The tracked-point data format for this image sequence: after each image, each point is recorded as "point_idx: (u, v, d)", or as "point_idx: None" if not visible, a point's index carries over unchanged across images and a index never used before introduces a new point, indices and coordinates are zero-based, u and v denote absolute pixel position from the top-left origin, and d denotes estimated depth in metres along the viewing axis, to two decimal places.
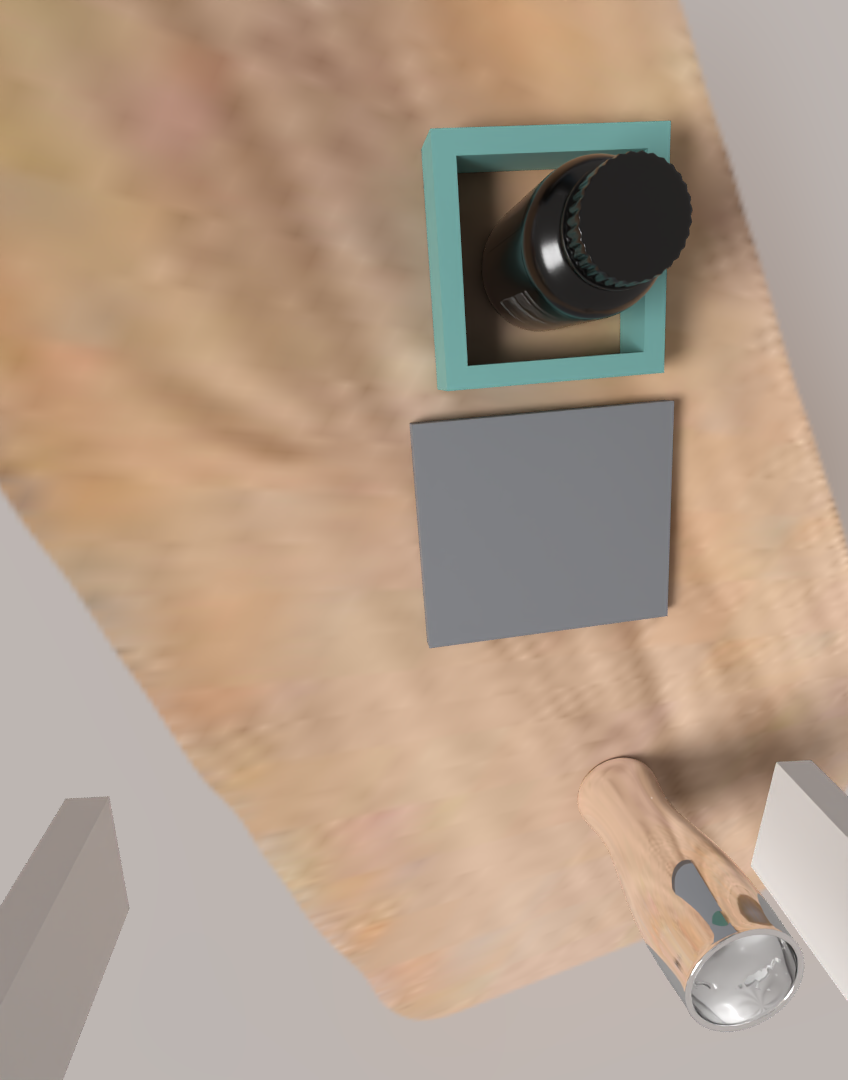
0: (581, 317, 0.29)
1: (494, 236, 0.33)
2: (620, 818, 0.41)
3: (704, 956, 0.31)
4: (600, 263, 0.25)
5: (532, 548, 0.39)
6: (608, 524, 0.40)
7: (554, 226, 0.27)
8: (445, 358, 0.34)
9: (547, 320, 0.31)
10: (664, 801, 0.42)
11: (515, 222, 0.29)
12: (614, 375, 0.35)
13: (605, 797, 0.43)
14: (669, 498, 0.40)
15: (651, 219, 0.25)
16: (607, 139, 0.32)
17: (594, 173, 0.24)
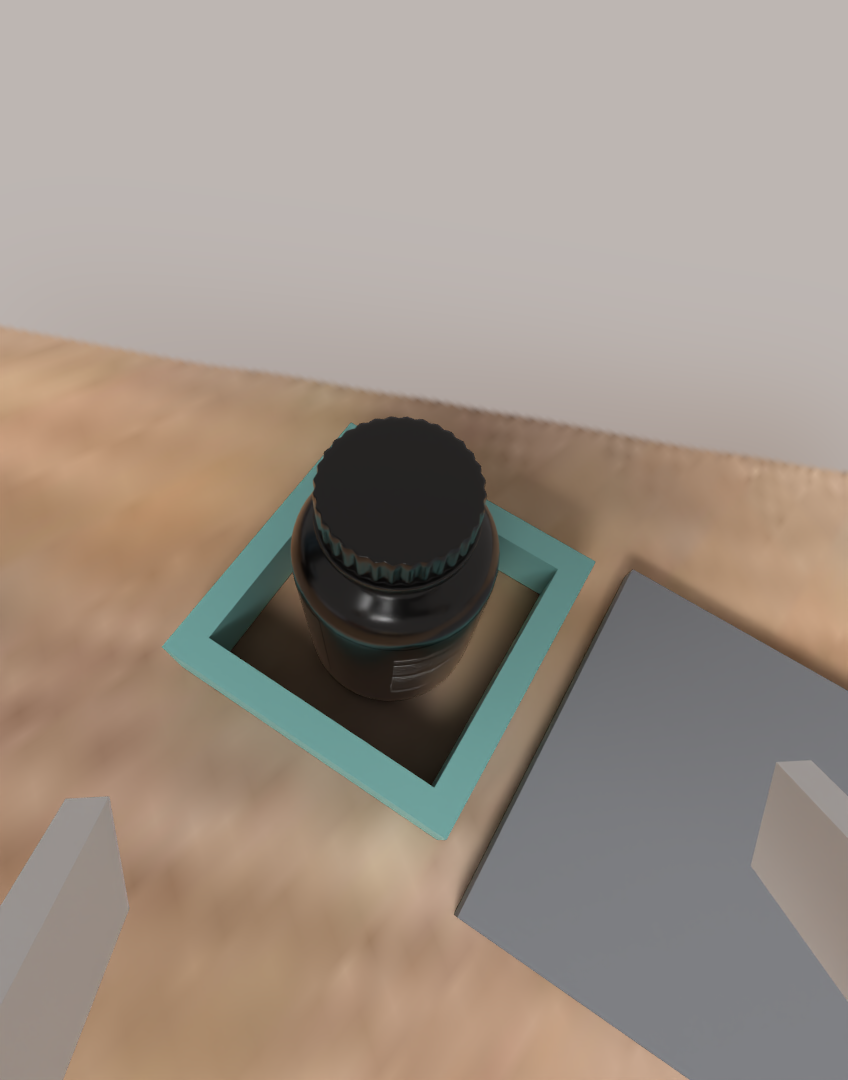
0: (472, 616, 0.19)
1: (318, 651, 0.25)
2: None
3: None
4: (420, 555, 0.16)
5: (735, 865, 0.24)
6: (752, 736, 0.26)
7: (343, 583, 0.18)
8: (405, 810, 0.22)
9: (448, 655, 0.22)
10: None
11: (312, 622, 0.21)
12: (564, 616, 0.25)
13: None
14: (754, 640, 0.28)
15: (415, 471, 0.17)
16: None
17: (315, 502, 0.17)
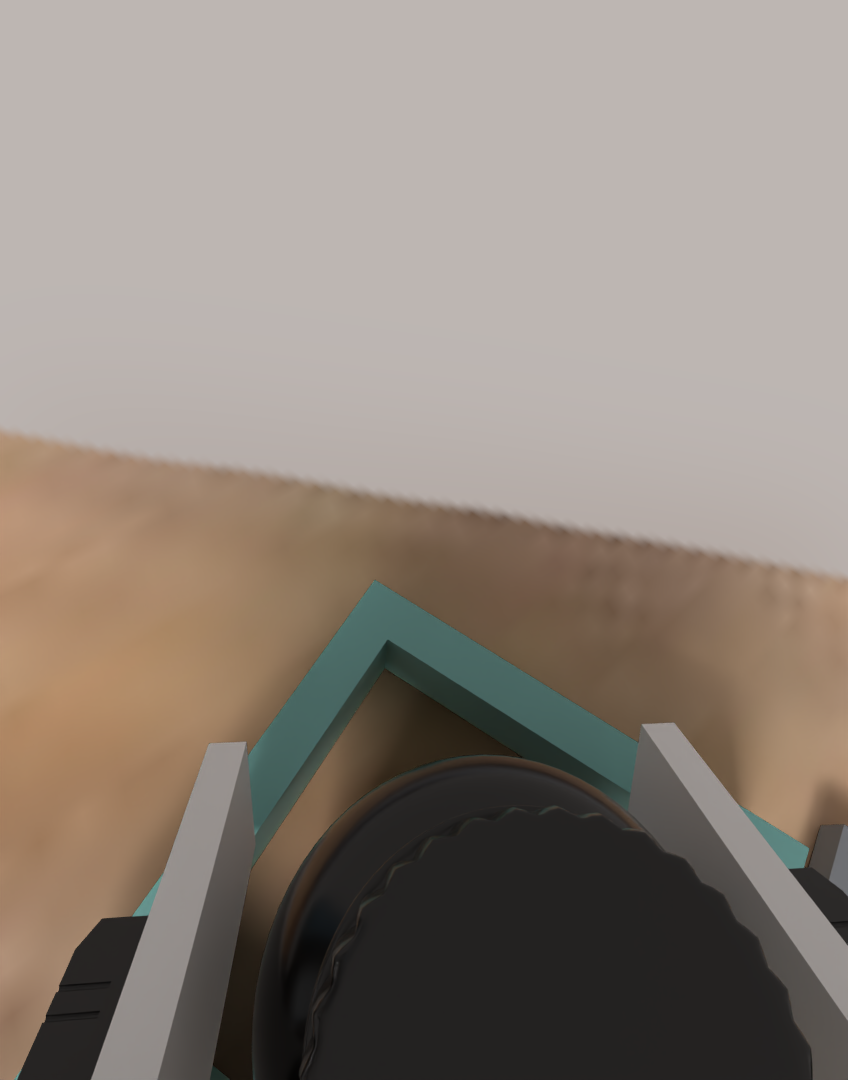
0: None
1: None
2: None
3: None
4: None
5: None
6: None
7: None
8: None
9: None
10: None
11: None
12: None
13: None
14: None
15: (605, 1028, 0.06)
16: (323, 700, 0.16)
17: None
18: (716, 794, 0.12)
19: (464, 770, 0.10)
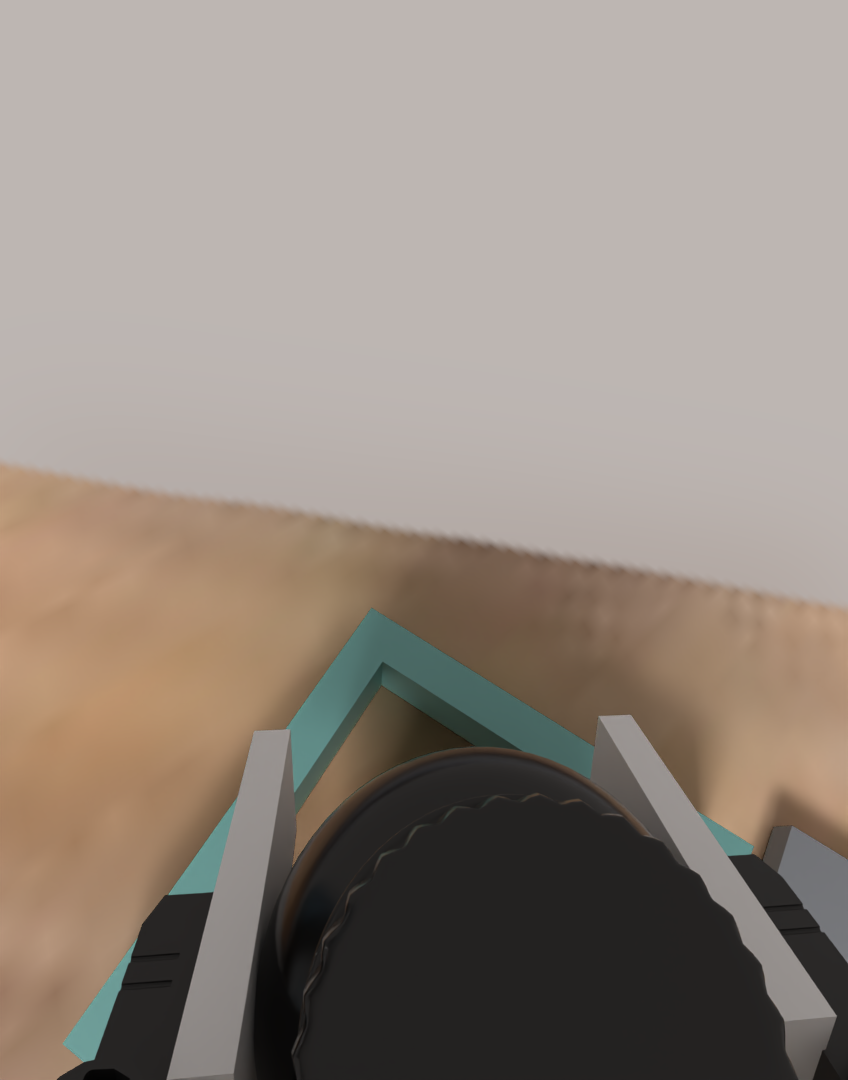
0: None
1: None
2: None
3: None
4: None
5: None
6: None
7: None
8: None
9: None
10: None
11: None
12: None
13: None
14: None
15: (584, 1004, 0.06)
16: (326, 716, 0.18)
17: None
18: (664, 783, 0.12)
19: (455, 763, 0.10)
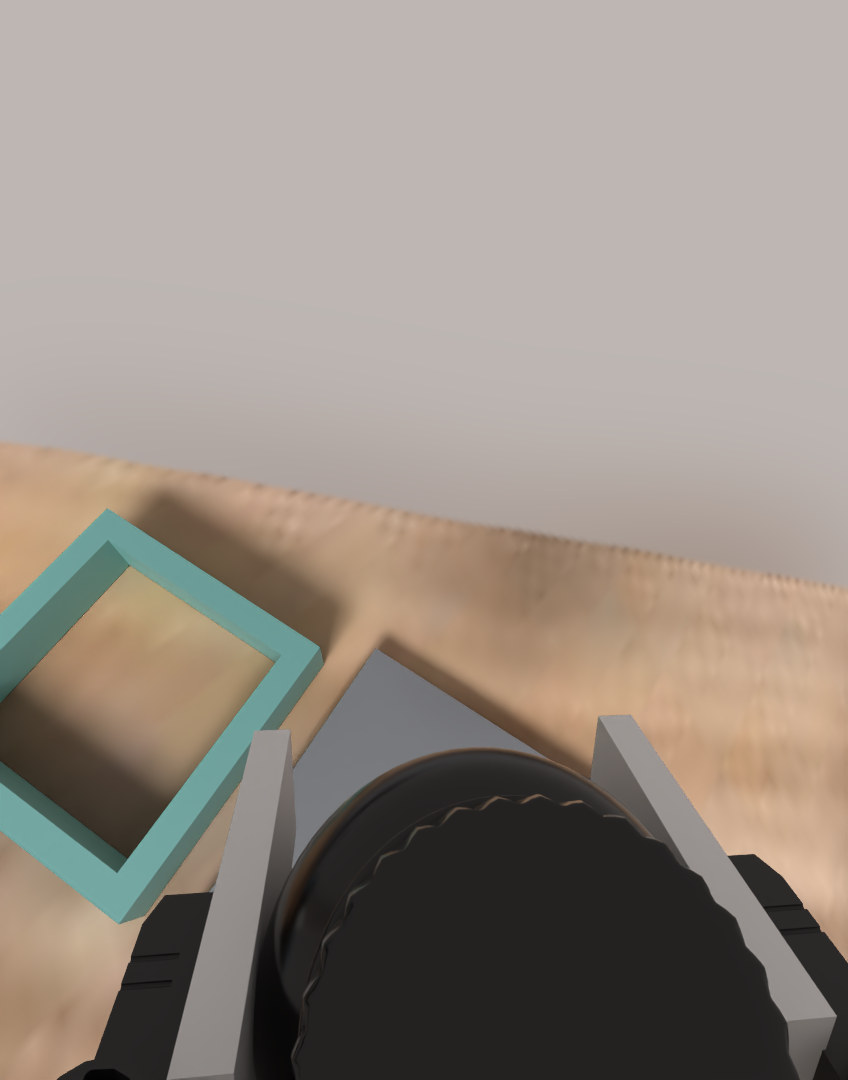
0: None
1: None
2: None
3: None
4: None
5: None
6: None
7: None
8: (85, 895, 0.23)
9: None
10: None
11: None
12: (278, 702, 0.27)
13: None
14: (482, 719, 0.29)
15: (586, 1007, 0.06)
16: (65, 570, 0.29)
17: None
18: (664, 783, 0.12)
19: (456, 763, 0.10)
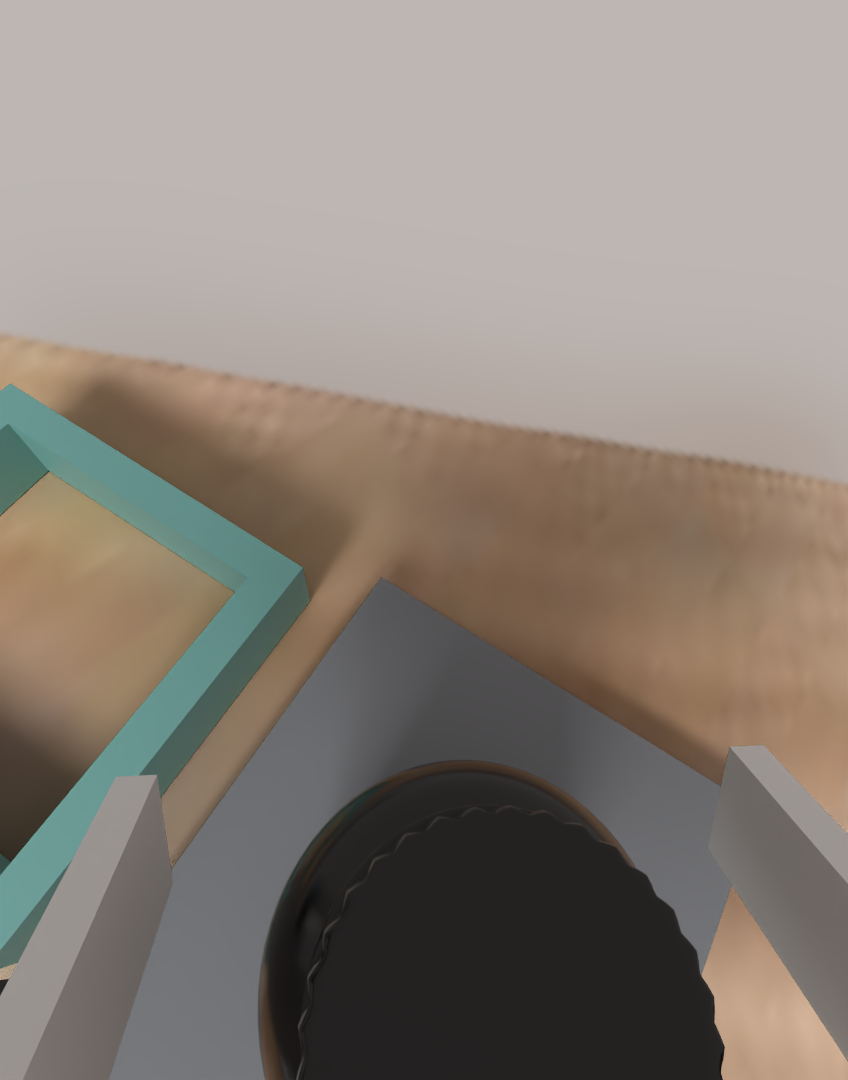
0: None
1: None
2: None
3: None
4: None
5: None
6: None
7: None
8: None
9: None
10: None
11: None
12: (241, 642, 0.19)
13: None
14: (530, 673, 0.21)
15: (546, 984, 0.07)
16: None
17: None
18: (825, 825, 0.11)
19: (440, 775, 0.11)
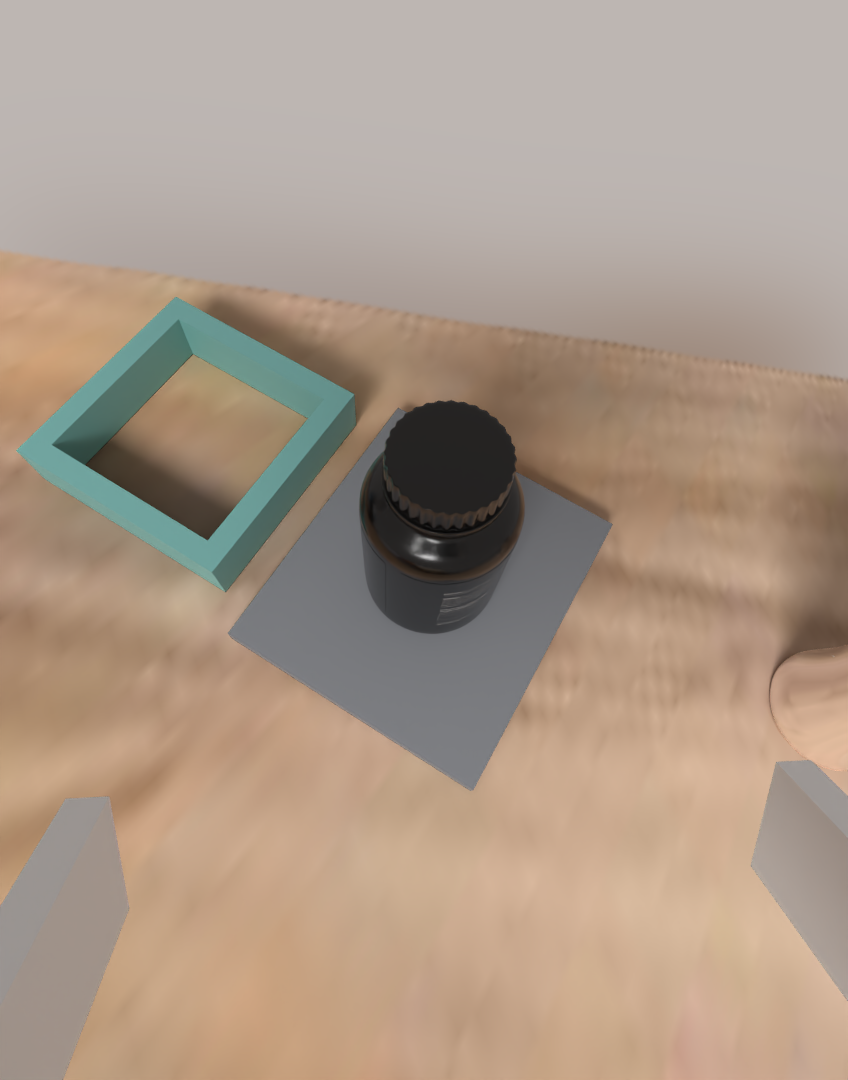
0: (505, 555, 0.25)
1: (375, 594, 0.30)
2: (841, 708, 0.28)
3: None
4: (469, 506, 0.21)
5: None
6: None
7: (406, 532, 0.24)
8: (184, 554, 0.31)
9: (484, 590, 0.27)
10: (847, 644, 0.30)
11: (377, 566, 0.26)
12: (323, 431, 0.34)
13: (811, 715, 0.30)
14: None
15: (460, 442, 0.22)
16: (146, 340, 0.35)
17: (386, 470, 0.22)
18: None
19: None
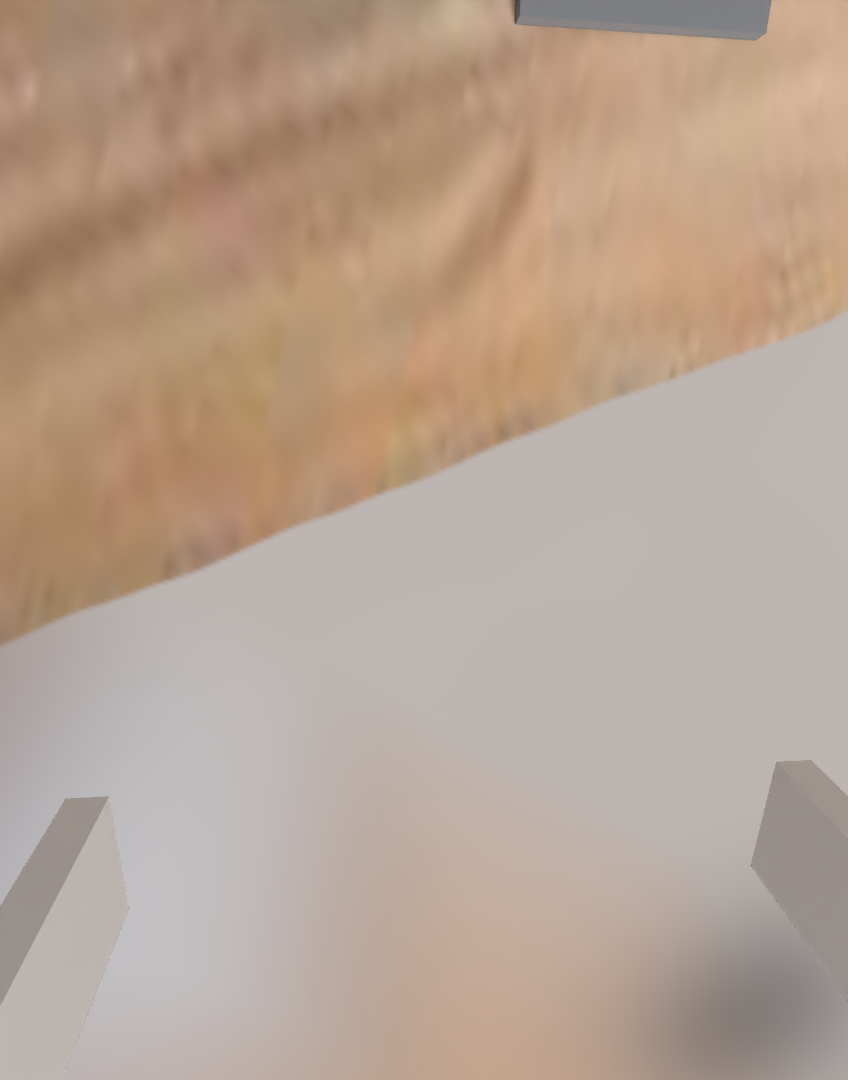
0: None
1: None
2: None
3: None
4: None
5: None
6: None
7: None
8: None
9: None
10: None
11: None
12: None
13: None
14: None
15: None
16: None
17: None
18: None
19: None
